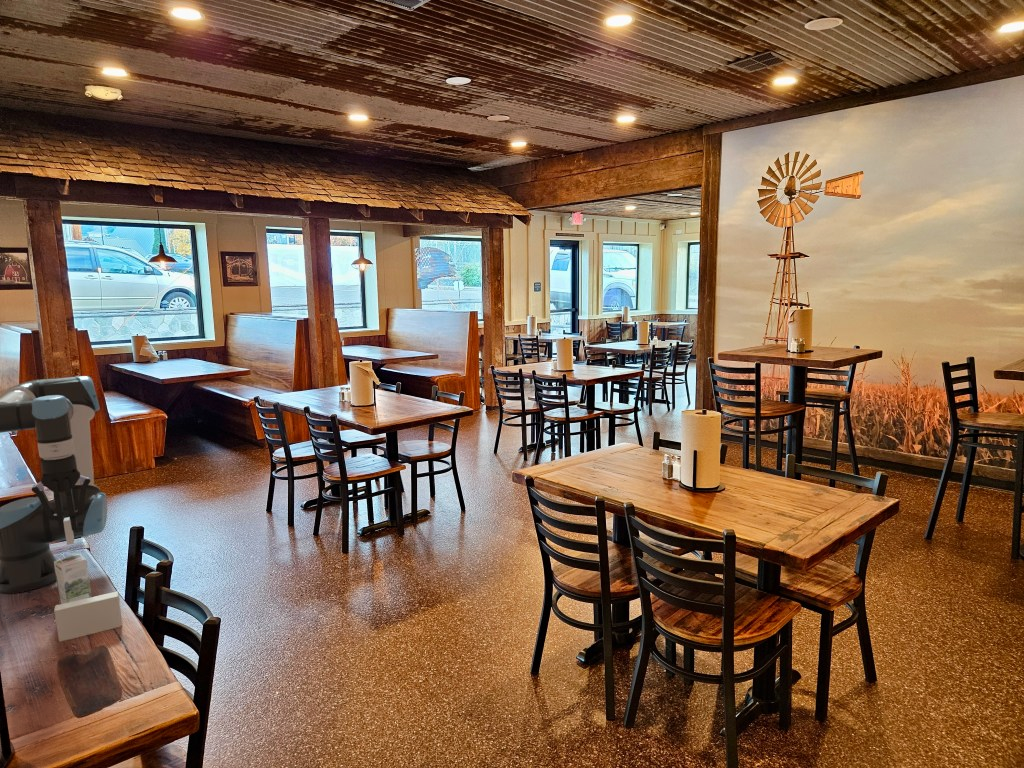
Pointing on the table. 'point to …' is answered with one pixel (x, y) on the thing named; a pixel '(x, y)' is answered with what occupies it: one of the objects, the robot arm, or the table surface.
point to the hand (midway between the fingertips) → (70, 542)
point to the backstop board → (88, 616)
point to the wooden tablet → (89, 681)
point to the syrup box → (72, 578)
